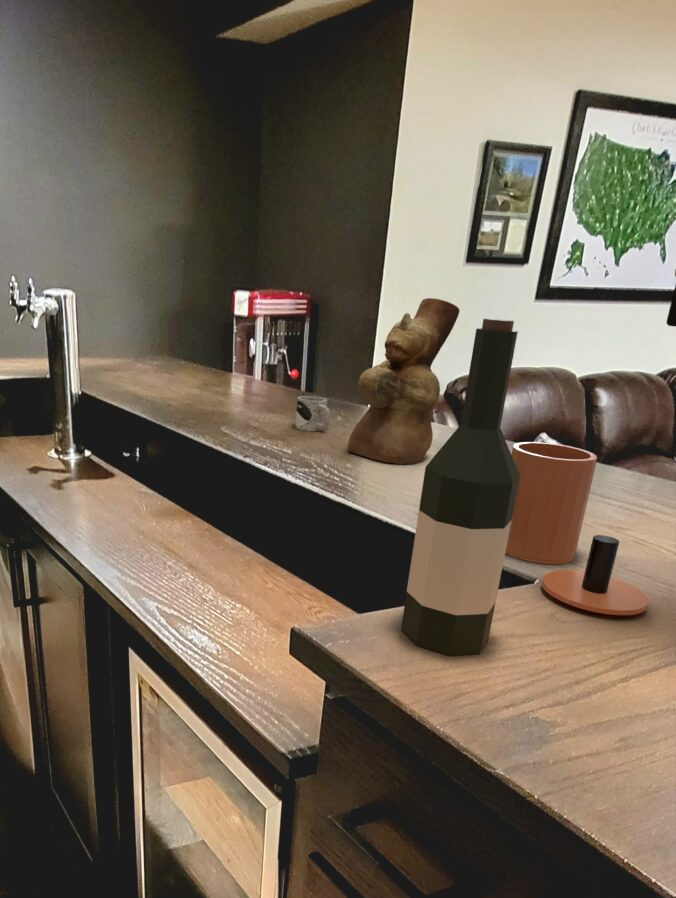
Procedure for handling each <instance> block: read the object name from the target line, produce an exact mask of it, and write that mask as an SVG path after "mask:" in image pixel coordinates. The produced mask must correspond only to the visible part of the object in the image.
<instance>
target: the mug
mask: <svg viewBox="0 0 676 898" xmlns="http://www.w3.org/2000/svg"><path fill="white" fill-rule="evenodd" d="M296 399H297V400H296V410H295V411H296V413H295V423H294V427H295V429H297V430H301V431H308V432H321V431H324V430H327V429H328V428H329V425H330V421H331V410H330V408H329V407H328V399H327V398H326V397H320V396H313V395H301V396H298V397H297V398H296Z"/></svg>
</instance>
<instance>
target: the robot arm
mask: <svg viewBox="0 0 676 898" xmlns="http://www.w3.org/2000/svg"><path fill="white" fill-rule="evenodd" d="M674 276H675V277H676V269H675V270H674ZM666 325H667V326H669V327H676V284H675V286H674V290H673V294H672V299H671V301H670V305H669V310H668V314H667V318H666Z"/></svg>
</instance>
